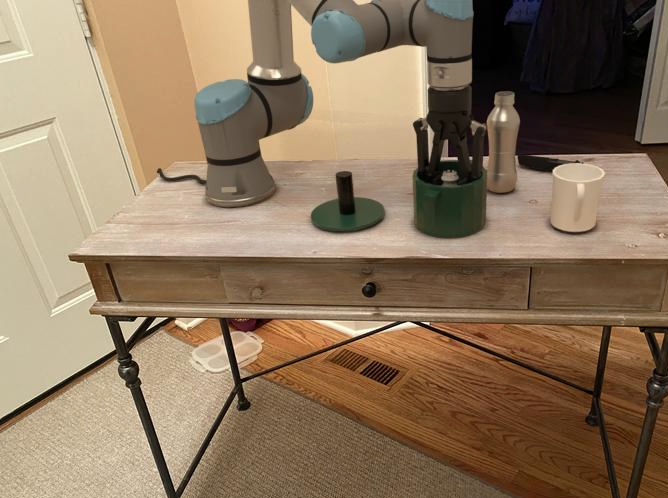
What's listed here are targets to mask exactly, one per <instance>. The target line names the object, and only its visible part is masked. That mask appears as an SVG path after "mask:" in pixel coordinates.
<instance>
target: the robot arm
mask: <svg viewBox="0 0 668 498" xmlns="http://www.w3.org/2000/svg"><path fill="white" fill-rule="evenodd" d="M247 6H248V7H247V8H248V17H249V30H250V41H251V53H252V62H251V63H250V64H249V65H248V67H246V78H247V80H244V79H240V78H232V79H225V80H224V81H216V82H214V83H210V84H209V85H206V86H204V87H203V88H201V89H199V91H198V92H197V93H196V95H195V97H194V98H193V99H194V100H193V103H194V112H195V119H196V121H197V125H198V129H199V133H200V138H201V142H202V147H203V150H204V154H205V159H206V164H207V166H206V179H202V178H201V177H200V176H199V175H197V174H184V175H180V176H175V177H174V176H173V177H168V176H166V175H165V174H164V173H163V170H162V168H161V167H159V168H157V170H156V174H159V176H160V178H161V179H162V180H164V181H166V182H177V181H182V180H186V179H196V181H197V182H198V183H200V184H202V185H203V184H205V186H204V194H205V198H206V201H207V202H208V203H209V204H211V205H212V206H214V207H215V206H216V207H219V208H221V207H222V208H240V207H247V206H251V205H254V204H258V203H261V202H263V201H265V200H267V199H269V198H271V197H272V196H273V195H274V194H275V192H276V190H277V189H276V181H275V179H274V177H273V175H272V174H271V173H270V172H269V169H268V166H267V164H266V163H265V159H263V156H262V152H261V145H260V140H263V139H265V138H268V137H271V136H274V135H276V134H279V133H282V132H284V131H290V130H294V129H295V128H297V126H300V125H302V124H303V123H305V122H306V121H307V120H308V119H309V117H310V116H311V114H312V112H313V108H314V92H313V88H312V86H311V85H309V84H310V81H309V80H308V78H307V77H306V76H305V75H304V74H303V73H302V68H301V67H300V66H299V65H298V63H297V62H295V60H294V59H295V58H294V40H293V20H292V19H293V18H292V16H293V15H292V7H293V8H294V9H295V11H297V12H298V13H299V15H300V17H302V18H303V19H304V20H305V21H306V22H307V24H308V25H309V26H311V28H310V38H311V39H310V40H311V43H312V45H313V46H314V48H315V53H316V54H317V56H318V57H319V58H321V60H323V61H325V62H326V63H329V64H341V63H346V62H353V61H356V60H357V59H359V58H364V57H366V56H369V55H372V54H376V53H380V52H384V51H387V50H391V49H394V48H398V47H401V46H414V47H420V48H421V47H423V48H424V47H425V48H426V50H425V51H426V77H427V79H426V80H427V81H426V82H427V85H428V88H427V109H428V110H427V114H426V117H419V118H418V119H416V120H415V121H413V122H412V127H413V129H414V132H415V135H416V137H415V138H416V157H417V158H416V159H417V168H418V172H419V173H420V174H424V175H426V176H427V177H428V183H429V184H433V185H441V186H442V179H441V177H442V175H437V173H438V172H439V171H438V170H439V165H440V161H442V160H441V159H442V155H443V150H444V149H443V148H444V147H445V146H444V145H445V142H446V141H450V142H452V145H453V147H454V148H455V153H456V154H455V155H456V158H457V159H456V160H458V163H459V168H460V173H461V177H462V180H461V181H460V182H459V183H458V185H463V184H468V183H472V181H476V180H478V179H479V178H480V177H481V176H482V174H483V167H484V150H485V149H484V148H485V135H486V133H487V132H488V129H487V128H488V125H487V122H486V123H485V122H483V123H480V122H479V121H476V120H474V116H473V114H472V96H473V95H472V86H471V85H470V84H472V81H473V57H472V56H473V55H472V54H473V52H472V51H473V50H472V47H473V45H472V44H473V25H474V24H473V23H474V15H475V14H474V13H475V12H474V10H473V8H474V7H473V0H371V1H370V2H365V3H362V4H358V3H357V2H356V1H355V0H247ZM429 127H430V129H431V130H432V132H433V137H432V147H431V152H430V151H429V131H428V129H429ZM470 129H471V135H472V137H473V138H472V145H471V146H472V148H471V149H472V150H471V151H472V152H471V156H472V157H471V158H470V154H469V149H468V143H467V142H468V138H467V132H468V131H469V130H470ZM429 153H430V154H429ZM470 160H472V168H471V163H470Z"/></svg>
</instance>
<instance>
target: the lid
mask: <svg viewBox="0 0 668 498" xmlns="http://www.w3.org/2000/svg"><path fill="white" fill-rule="evenodd" d="M335 182H336V192H337V198H334V199H331V200H327V201H325V202H323V203H321V204H319V205H317V206H316V207H314V209H312V211H311V213H310V220H311V222H312V224H313V225H314V226H316V227H317V228H319V229H323V230H327V231H332V232H351V231H358V230H361V229H365V228H368V227H371V226H373V225H375V224H377V223H378V222H380V221H381V220H382V219H384V216H385V213H386V212H385V207H384V205H383V203H381V202H380V201H377V200H375V199H372V198H369V197H362V196H361V197H360V196H355V189H354V180H353V172H352V171H350V170H341V171H338V172H336V173H335Z"/></svg>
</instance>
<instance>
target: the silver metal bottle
mask: <svg viewBox="0 0 668 498" xmlns="http://www.w3.org/2000/svg"><path fill="white" fill-rule="evenodd" d="M493 102H494V103H493V104H494V105H495V106H494V108H493V109H492V110H491V111H490V113H489V115H488V116H487V120H486V124H487V125H488V128H487V136H488V137H487V138H488V158H487V159H488V160H487V168H486V170H487V190H489V191H490V192H492V193H499V194H501V193H502V194H503V193H508V192H511V191H514V189H515V188H516V185H517V182H518V172H517V165H516V164H517V163H516V162H517V161H516V151H517V141H518V140H517V139H518V135H519V130H520V124H521V119H520V115H519V113H518V111H517V110H516V109H515V107H514V106H513V105H514V104H515V92H513V91H499V92H498V91H497V92H496V93H495V95H494V101H493Z"/></svg>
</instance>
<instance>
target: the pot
mask: <svg viewBox="0 0 668 498" xmlns="http://www.w3.org/2000/svg"><path fill="white" fill-rule="evenodd" d="M470 163H471V168H472V159H470ZM447 170H450V172H451V173H452V170H454V171H455V172H457V175H458V177H459V178H458V180H457V181H456V183H457V185H456V186H441V185H433V184H429V183H428V177H427V176H426V175H424V174H420V173H419V172H418V167H417V168H416V169H414V170H413V173H412V198H413V202H412V203H413V222H414V226H415V228H416V229H417V230H418V232H420V233H422V234H424V235H426V236H429V237H432V238H439V239H459V238H465V237H469V236H472V235H475V234H477V233H479V232H480V231H482V230H483V229H484V228H485V226H486V223H487V197H488V196H487V195H488V194H487V193H488V188H487V168H485V167H484V166H483V174H482V176H481V177H480V178H479V179H478V180H476V181H472V183H468V184H463V185H458V183H459V182H460V181H461V180H462V177H461V173H460V168H459V163H458V159H447V160H440V165H439V170H438V171H439V172H438V173H437V175H443V172H444V171H446V173H447ZM443 183H444V182H443V180H442V185H443Z"/></svg>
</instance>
